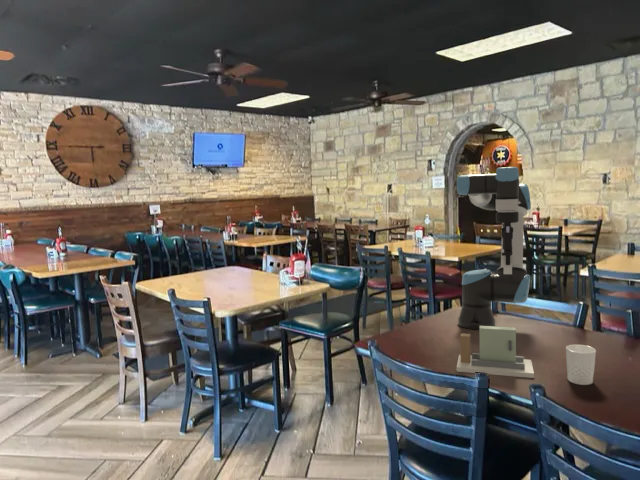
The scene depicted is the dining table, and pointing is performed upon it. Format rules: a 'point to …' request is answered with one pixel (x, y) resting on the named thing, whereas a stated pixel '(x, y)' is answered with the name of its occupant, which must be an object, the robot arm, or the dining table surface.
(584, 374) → the white cup
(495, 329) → the door panel
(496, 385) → the dining table surface
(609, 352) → the dining table surface
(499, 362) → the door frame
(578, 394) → the dining table surface
